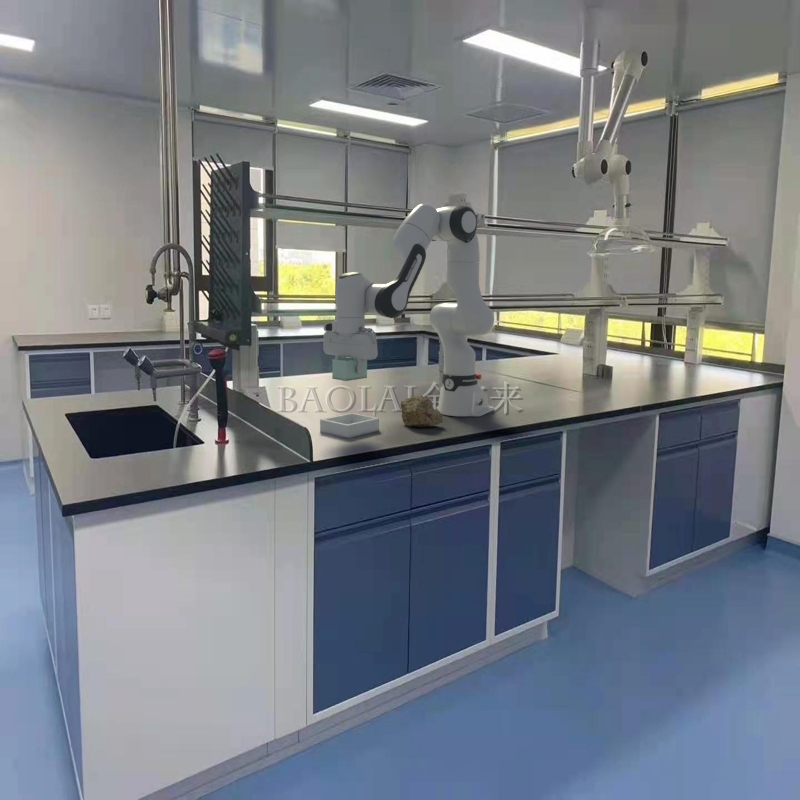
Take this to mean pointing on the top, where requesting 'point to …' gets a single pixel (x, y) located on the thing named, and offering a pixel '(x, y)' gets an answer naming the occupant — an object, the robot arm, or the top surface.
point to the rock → (419, 412)
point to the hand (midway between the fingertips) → (350, 371)
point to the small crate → (347, 369)
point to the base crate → (349, 425)
